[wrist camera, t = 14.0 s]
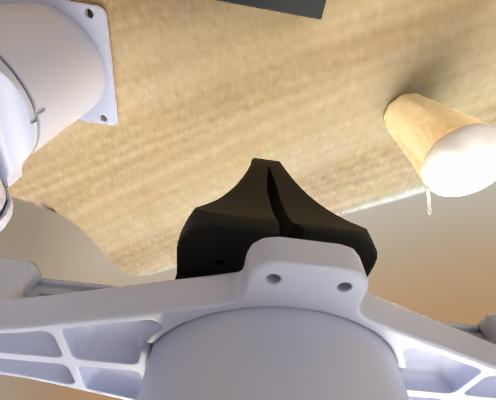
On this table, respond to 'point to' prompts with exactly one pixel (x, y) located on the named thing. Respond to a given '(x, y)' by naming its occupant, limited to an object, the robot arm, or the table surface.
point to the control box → (287, 6)
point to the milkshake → (443, 145)
